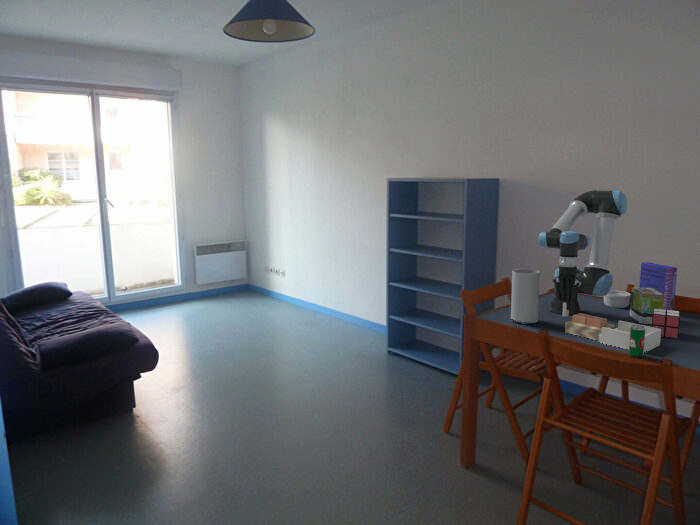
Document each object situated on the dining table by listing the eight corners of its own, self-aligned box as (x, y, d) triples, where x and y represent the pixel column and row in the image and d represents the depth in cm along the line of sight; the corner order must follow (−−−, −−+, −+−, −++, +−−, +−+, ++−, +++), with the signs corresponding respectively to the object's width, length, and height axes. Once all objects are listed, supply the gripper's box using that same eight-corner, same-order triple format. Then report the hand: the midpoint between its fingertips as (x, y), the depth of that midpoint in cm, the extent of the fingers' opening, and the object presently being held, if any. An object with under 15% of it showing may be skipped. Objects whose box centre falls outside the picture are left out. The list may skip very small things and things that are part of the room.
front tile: (586, 325, 222) (586, 318, 221) (593, 322, 225) (593, 315, 225) (599, 328, 217) (600, 321, 216) (606, 325, 220) (607, 318, 220)
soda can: (626, 353, 200) (628, 324, 198) (639, 353, 200) (641, 324, 198) (632, 357, 195) (634, 327, 193) (645, 357, 195) (648, 328, 193)
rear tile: (572, 321, 227) (572, 315, 226) (579, 319, 230) (579, 313, 230) (585, 324, 222) (585, 318, 222) (592, 322, 226) (592, 315, 225)
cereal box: (673, 314, 252) (677, 267, 248) (665, 315, 251) (669, 268, 247) (645, 306, 269) (648, 262, 265) (638, 307, 268) (641, 262, 264)
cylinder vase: (509, 317, 254) (511, 268, 250) (535, 318, 252) (537, 269, 247) (512, 324, 242) (513, 273, 238) (539, 325, 240) (541, 273, 235)
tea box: (663, 324, 236) (665, 294, 234) (639, 324, 238) (641, 293, 236) (650, 316, 251) (653, 287, 248) (628, 315, 253) (630, 286, 250)
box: (598, 342, 213) (599, 326, 212) (616, 335, 222) (617, 320, 221) (643, 353, 199) (644, 336, 198) (659, 345, 209) (661, 328, 207)
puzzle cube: (678, 339, 216) (680, 316, 214) (650, 335, 221) (652, 313, 219) (677, 332, 224) (679, 311, 222) (651, 329, 229) (653, 308, 228)
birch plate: (564, 333, 227) (565, 322, 226) (578, 327, 234) (579, 317, 233) (600, 341, 214) (600, 330, 214) (613, 335, 222) (614, 325, 221)
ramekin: (618, 309, 263) (618, 297, 262) (596, 304, 275) (597, 292, 274) (635, 306, 269) (636, 294, 267) (614, 301, 280) (614, 289, 279)
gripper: (550, 264, 231) (548, 314, 235) (577, 268, 221) (574, 320, 225) (559, 262, 236) (556, 311, 240) (586, 266, 225) (583, 317, 229)
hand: (565, 315), depth 232 cm, fingers closed
